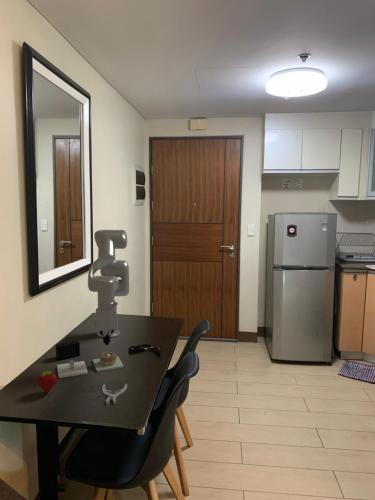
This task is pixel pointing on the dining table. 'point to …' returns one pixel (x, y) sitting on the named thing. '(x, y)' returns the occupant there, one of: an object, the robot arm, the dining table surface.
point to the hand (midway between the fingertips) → (106, 343)
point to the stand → (71, 369)
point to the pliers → (113, 396)
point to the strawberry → (46, 380)
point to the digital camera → (67, 350)
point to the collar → (108, 358)
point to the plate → (105, 368)
